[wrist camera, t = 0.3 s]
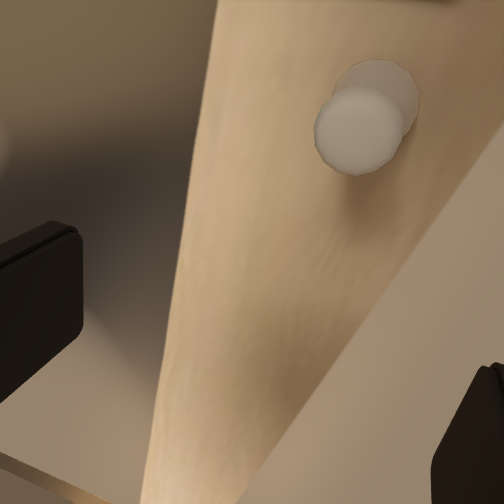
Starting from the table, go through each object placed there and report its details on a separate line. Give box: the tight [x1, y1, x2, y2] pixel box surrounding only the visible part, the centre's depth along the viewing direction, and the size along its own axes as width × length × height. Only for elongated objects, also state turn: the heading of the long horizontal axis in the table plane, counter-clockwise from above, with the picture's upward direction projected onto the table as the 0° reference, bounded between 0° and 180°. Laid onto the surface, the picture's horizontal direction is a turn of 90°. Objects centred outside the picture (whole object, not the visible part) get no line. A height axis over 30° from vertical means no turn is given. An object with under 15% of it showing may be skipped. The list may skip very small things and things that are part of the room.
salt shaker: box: [314, 59, 419, 176], centre depth 27 cm, size 6×6×13 cm
